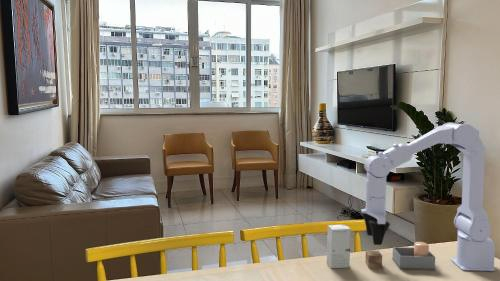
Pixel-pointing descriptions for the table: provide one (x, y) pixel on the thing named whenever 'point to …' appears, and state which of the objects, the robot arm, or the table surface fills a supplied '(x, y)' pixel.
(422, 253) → the cylinder
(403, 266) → the tote
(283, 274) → the table surface
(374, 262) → the cube
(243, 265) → the table surface
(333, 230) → the skincare box
